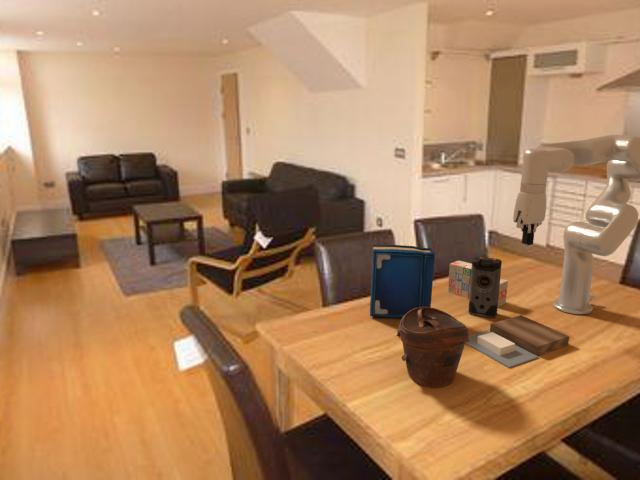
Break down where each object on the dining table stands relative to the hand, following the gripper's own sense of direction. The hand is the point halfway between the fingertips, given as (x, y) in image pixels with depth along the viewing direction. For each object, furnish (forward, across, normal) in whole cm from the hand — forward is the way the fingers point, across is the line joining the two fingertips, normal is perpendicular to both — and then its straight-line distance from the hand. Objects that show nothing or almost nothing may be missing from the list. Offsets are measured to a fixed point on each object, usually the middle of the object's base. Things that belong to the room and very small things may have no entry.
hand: (527, 243), depth 161 cm
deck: (+27, +9, +11) cm, 31 cm away
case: (+27, +50, +13) cm, 58 cm away
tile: (+26, +23, +11) cm, 36 cm away
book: (+27, +33, -23) cm, 49 cm away
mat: (+27, +22, +11) cm, 37 cm away
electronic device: (+27, +7, -10) cm, 30 cm away
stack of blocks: (+28, -2, -22) cm, 35 cm away
